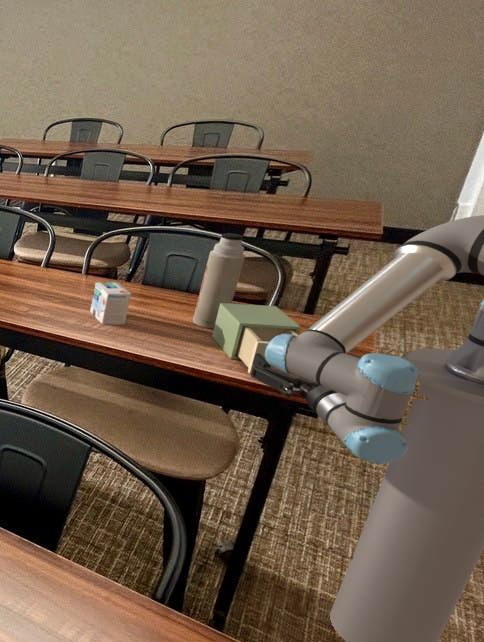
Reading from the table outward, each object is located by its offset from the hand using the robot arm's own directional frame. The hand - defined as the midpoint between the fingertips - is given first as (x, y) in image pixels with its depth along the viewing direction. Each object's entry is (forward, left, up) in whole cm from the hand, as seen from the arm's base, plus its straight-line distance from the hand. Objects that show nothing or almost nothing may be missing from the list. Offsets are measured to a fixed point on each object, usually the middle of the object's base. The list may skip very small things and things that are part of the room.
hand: (291, 361), depth 137 cm
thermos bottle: (+20, -34, -7) cm, 40 cm away
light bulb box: (+44, -21, -7) cm, 49 cm away
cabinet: (+9, -20, -7) cm, 23 cm away
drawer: (+3, -8, -6) cm, 10 cm away
